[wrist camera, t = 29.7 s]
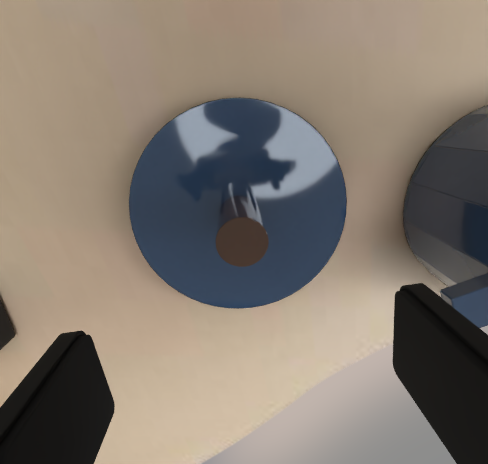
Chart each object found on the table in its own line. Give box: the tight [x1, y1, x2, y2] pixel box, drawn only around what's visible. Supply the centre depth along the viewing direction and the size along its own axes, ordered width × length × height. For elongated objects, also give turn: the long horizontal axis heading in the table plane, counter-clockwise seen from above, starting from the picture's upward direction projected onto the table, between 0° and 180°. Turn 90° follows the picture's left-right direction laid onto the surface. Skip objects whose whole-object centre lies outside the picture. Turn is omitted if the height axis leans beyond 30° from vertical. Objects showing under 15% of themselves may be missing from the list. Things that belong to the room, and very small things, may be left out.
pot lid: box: [129, 98, 347, 308], centre depth 20 cm, size 16×16×7 cm
